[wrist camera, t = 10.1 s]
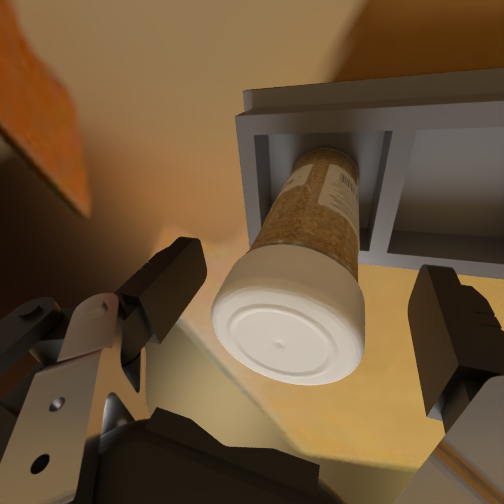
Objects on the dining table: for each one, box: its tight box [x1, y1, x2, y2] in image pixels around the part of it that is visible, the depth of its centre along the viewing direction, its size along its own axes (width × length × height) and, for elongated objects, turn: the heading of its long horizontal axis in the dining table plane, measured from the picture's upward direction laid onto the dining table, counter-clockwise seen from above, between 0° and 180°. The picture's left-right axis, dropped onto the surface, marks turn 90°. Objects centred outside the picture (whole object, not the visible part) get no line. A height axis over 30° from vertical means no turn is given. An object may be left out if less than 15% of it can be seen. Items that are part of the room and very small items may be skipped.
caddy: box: [235, 67, 504, 279], centre depth 16 cm, size 18×11×4 cm, turn 96°
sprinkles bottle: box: [211, 147, 365, 385], centre depth 13 cm, size 5×5×14 cm
